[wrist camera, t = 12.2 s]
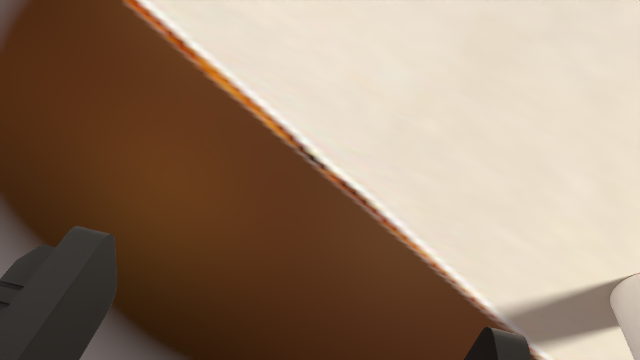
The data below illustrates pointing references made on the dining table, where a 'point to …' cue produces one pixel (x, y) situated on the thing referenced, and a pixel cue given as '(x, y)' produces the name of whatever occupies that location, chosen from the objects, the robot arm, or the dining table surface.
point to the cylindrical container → (628, 311)
